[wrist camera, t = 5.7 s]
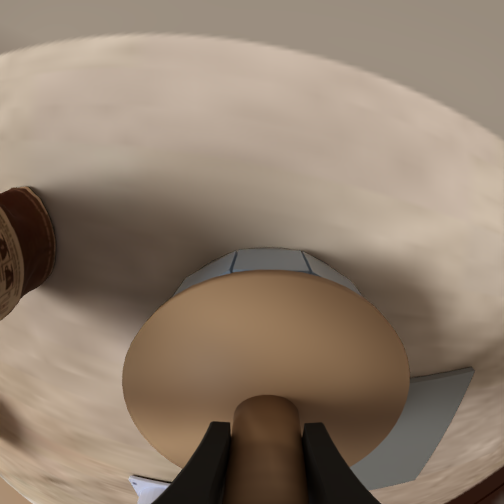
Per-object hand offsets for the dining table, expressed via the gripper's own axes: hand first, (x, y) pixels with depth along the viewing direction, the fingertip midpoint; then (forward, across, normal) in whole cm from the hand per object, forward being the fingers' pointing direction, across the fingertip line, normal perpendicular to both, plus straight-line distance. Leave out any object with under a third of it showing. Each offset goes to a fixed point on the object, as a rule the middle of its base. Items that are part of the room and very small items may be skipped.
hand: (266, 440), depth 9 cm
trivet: (+7, -8, +10) cm, 14 cm away
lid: (+2, 0, 0) cm, 2 cm away
